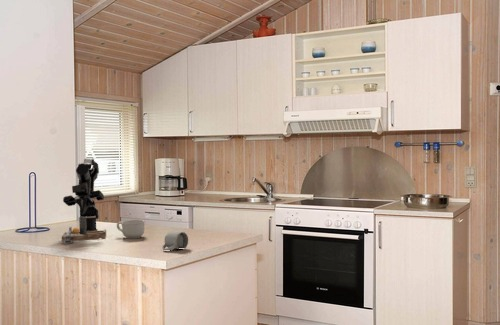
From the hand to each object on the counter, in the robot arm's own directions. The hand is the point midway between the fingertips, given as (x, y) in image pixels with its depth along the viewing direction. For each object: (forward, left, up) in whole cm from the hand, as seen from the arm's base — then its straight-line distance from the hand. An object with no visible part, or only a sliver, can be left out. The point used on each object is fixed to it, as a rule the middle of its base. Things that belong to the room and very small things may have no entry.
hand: (82, 213), depth 255 cm
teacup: (-18, +13, -12) cm, 26 cm away
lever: (+4, +2, -9) cm, 10 cm away
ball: (+2, -4, -10) cm, 11 cm away
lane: (-2, -2, -12) cm, 13 cm away
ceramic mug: (-17, +53, -13) cm, 57 cm away
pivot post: (+10, +5, -12) cm, 17 cm away
